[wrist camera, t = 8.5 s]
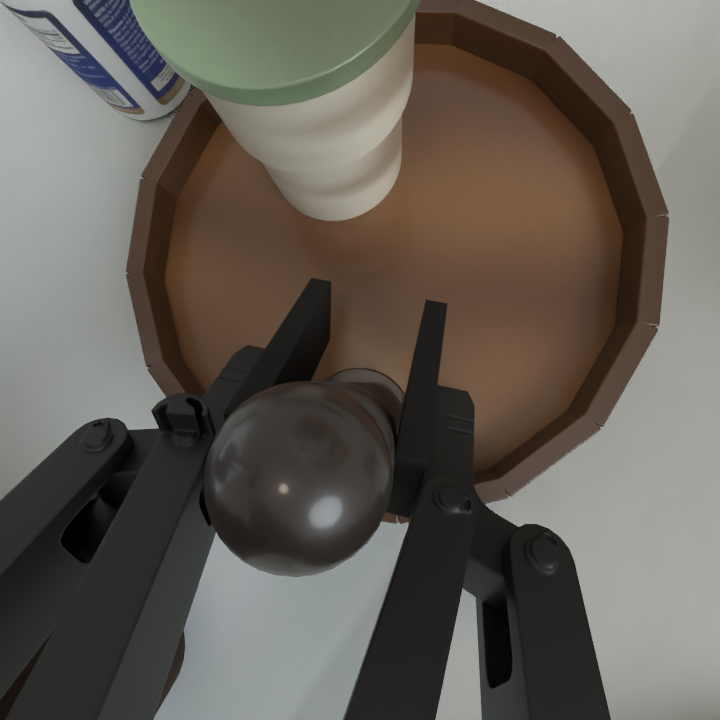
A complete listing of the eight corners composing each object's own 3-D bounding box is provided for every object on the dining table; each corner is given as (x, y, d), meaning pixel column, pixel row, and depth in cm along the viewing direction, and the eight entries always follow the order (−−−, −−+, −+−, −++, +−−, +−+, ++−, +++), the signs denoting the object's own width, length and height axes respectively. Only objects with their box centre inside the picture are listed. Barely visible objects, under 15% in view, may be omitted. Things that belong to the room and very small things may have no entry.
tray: (198, 40, 19) (-143, -538, 7) (647, 53, 17) (1271, -781, 5) (135, 461, 18) (-385, 614, 6) (601, 536, 16) (1237, 1025, 4)
